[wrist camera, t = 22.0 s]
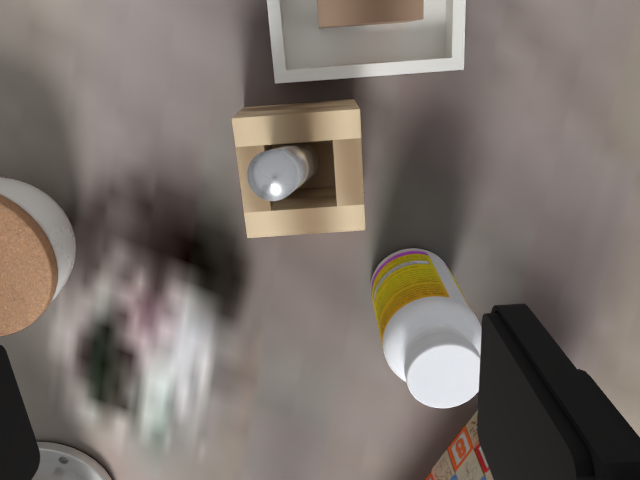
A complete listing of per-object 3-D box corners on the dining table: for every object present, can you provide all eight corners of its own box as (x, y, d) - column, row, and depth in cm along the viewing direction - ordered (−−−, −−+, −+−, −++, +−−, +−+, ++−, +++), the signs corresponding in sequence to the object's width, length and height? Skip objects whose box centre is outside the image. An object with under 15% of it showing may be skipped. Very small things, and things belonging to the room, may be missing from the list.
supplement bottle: (353, 291, 43) (366, 387, 31) (403, 230, 41) (438, 307, 29) (415, 331, 45) (451, 439, 33) (467, 274, 43) (525, 365, 31)
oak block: (257, 210, 41) (247, 238, 35) (244, 106, 38) (231, 118, 32) (358, 203, 41) (365, 229, 35) (353, 98, 38) (360, 109, 32)
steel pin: (279, 152, 38) (238, 163, 27) (310, 137, 38) (283, 141, 26) (294, 184, 39) (260, 209, 27) (325, 169, 38) (305, 188, 27)
